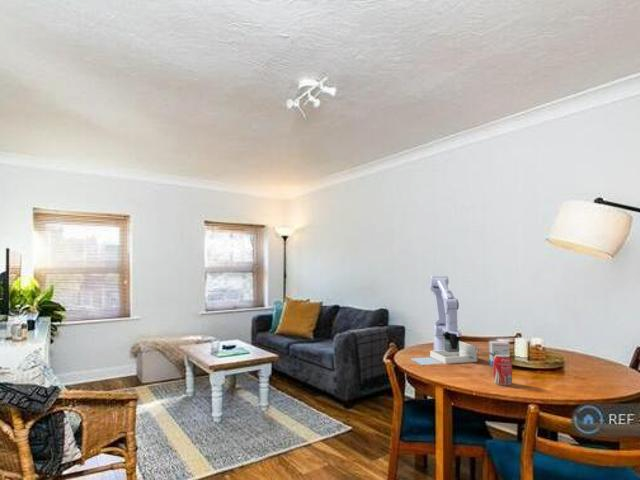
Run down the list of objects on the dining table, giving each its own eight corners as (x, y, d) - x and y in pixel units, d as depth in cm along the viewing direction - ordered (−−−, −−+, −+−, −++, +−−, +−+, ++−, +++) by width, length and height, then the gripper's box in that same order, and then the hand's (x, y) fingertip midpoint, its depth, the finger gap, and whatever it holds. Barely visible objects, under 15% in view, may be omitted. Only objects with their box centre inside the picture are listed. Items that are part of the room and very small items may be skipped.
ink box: (492, 367, 192) (491, 342, 192) (488, 364, 197) (488, 340, 197) (510, 367, 191) (509, 343, 192) (506, 365, 196) (506, 341, 197)
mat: (410, 359, 207) (410, 358, 207) (429, 358, 210) (429, 357, 210) (422, 365, 194) (422, 364, 194) (442, 364, 197) (442, 363, 197)
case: (430, 357, 211) (429, 342, 211) (459, 355, 215) (459, 340, 216) (447, 365, 194) (447, 349, 195) (479, 363, 199) (479, 347, 199)
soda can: (496, 380, 170) (495, 352, 171) (514, 383, 166) (513, 354, 166) (491, 384, 165) (491, 355, 166) (509, 387, 160) (509, 357, 161)
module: (444, 350, 207) (444, 339, 207) (454, 350, 209) (454, 338, 209) (448, 352, 203) (448, 340, 203) (459, 351, 205) (459, 340, 205)
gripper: (437, 320, 213) (437, 345, 212) (452, 324, 199) (452, 351, 198) (449, 319, 214) (449, 344, 214) (464, 323, 200) (465, 350, 200)
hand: (451, 348), depth 206 cm, fingers closed on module, 4 cm apart
